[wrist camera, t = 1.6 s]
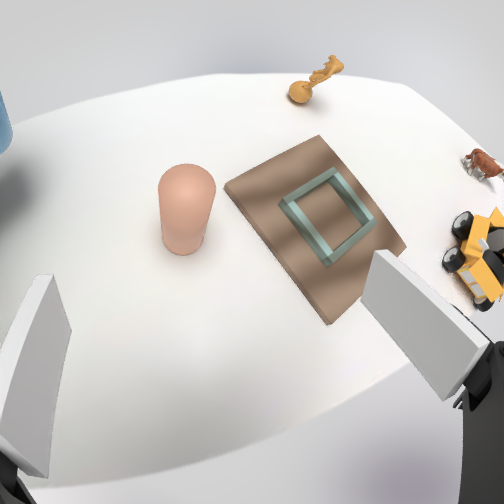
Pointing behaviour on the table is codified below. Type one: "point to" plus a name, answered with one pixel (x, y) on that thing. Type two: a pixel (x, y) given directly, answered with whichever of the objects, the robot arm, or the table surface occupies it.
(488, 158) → the bull figurine
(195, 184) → the pink rounded cylinder
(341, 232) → the jig board
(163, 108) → the table surface
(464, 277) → the race car
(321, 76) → the figurine
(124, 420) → the table surface
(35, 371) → the robot arm
